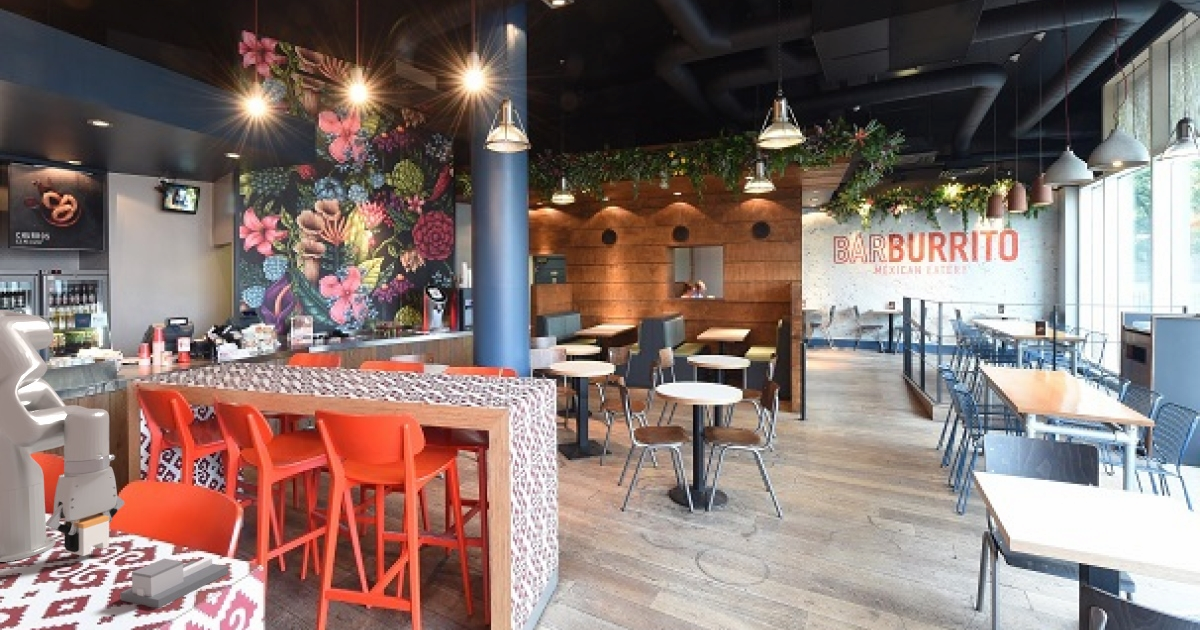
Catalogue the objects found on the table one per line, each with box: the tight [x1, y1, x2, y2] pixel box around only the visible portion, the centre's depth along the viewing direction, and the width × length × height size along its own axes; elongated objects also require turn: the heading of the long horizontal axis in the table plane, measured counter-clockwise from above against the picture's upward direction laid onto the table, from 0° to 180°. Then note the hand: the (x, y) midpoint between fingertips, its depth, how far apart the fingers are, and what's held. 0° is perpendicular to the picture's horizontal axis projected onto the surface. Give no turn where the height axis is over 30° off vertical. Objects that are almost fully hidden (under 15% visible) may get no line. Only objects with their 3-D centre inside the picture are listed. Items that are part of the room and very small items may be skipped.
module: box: [64, 514, 110, 557], centre depth 130 cm, size 5×6×7 cm
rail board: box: [120, 557, 229, 609], centre depth 115 cm, size 10×14×6 cm
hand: (87, 544), depth 130 cm, fingers closed on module, 5 cm apart
